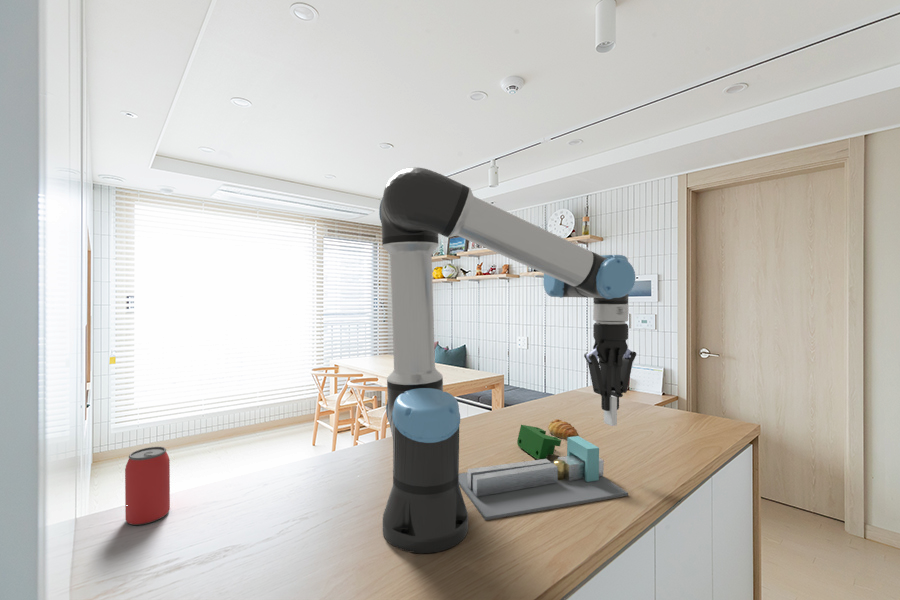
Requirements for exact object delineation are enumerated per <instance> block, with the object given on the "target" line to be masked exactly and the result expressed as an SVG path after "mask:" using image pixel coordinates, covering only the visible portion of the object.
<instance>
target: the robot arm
mask: <svg viewBox="0 0 900 600" xmlns="http://www.w3.org/2000/svg"><path fill="white" fill-rule="evenodd" d="M385 185H386V186H385V187H384V189H383V196H382V198H381V201H380V203H379V214H378V215H379V220H380V223H381V240H382V242H381V244H382V248H383V249H384V250H385V251H386V252H387V253H388V254H389V255H390V256H389V260H390V285H391V286H390V287H391V290H390V291H391V293H390V294H391V318H392V320H391V321H392V345H393V347H392V348H393V349H392V351H393V370H392V372H391V373H390V374H389V375H388V376H387V377H386V389H387V391H386V392H387V393H386V394H387V399H386V406H385V412H386V419H387V421H388V423H389V426H390V427H389V428H390V432H391V437H392V487H391V490H390V492H389V495H388V499H387V502H386V505H385V508H384V511H383V514H382V534H383V537H384V538H385V540H386V542H388V543H389V544H390V545H391V546H393V547H396V548H398V549H399V550H402V551H405V552H409V553H416V554H432V553H438V552H442V551H446V550H448V549H451V548H453V547H455V546H456V545H459V543H460V542H462V541H463V540H464V539H465V537H467V535H468V531H469V514H468V512H469V511H468V509H467V506H466V503H465V501H464V496H463V494H462V493H463V492H462V490H461V486H460V485H459V472H460V469H459V468H460V466H459V465H460V424H461V414H460V406H459V402H458V400H457V398H456V397H455V396H454V395H453V394H451V393H449V392H447V391H444V383H443V382H444V380H443V376H444V375H443V374H442V373H441V372H440V371H439V370H438V369H436V359H435V358H436V354H435V324H434V322H435V320H434V319H435V318H434V293H433V292H434V289H433V288H434V287H433V286H434V285H433V260H432V259H433V257H432V255H433V253H434V252H435V250H436V249H437V248H438V247H439V235H441V236H443V237H446V238H448V239H449V238H452V237H455V236H457V237H460V238H462V239H465V240H466V241H469V242H472V243H474V244H476V245H478V246H481V247H483V248H485V249H487V250H489V251H492V252H494V253H496V254H499V255H501V256H503V257H505V258H508V259H510V260H513V261H514V262H517V263H519V264H521V265H524V266H526V267H527V268H528V267H529V268H530V269H533V270H535V271H538V272H540V273H542V274H543V276H542V277H543V279H542V281H543V282H542V283H543V289H544V291H545V293H546V294H547V296H549V297H551V298H559V299H563V298H589V299H591V298H593V310H592V312H593V315H592V320H594V321H595V322H594V324H593V331H592V333H593V340H594V343H593V346H592V350H591V351H590V352H585V353H584V355H583V358H585V361H586V362H587V365H588V370H589V371H588V372H589V376H590V380H591V385H592V389H593V390H592V391H593V393H595V394H598V395H600V396H601V407H600V408H601V410H603V423H604V424H606V425H608V426H611V427H613V426H617V425H618V410H619V409H620V398H622V397H623V396H624V395H623V394H627V392H628V387H629V382H630V378H631V373H632V368H633V363H634V361H635V359H636V357H637V352H635V351H632V350H631V349H629V348H628V346H629V345H628V343H627V340H628V339H629V324H628V323H626V322H628V321H629V293H631V291H632V290H633V288H634V286H635V283H636V272H635V269H634V267H633V264H631V262H629V260H628V258H627V256H625V255H623V254H603V255H600V254H598V253H595V252H594V251H591V250H589V249H586V248H584V247H583V246H580V245H578V244H576V243H574V242H572V241H570V240H568V239H565V238H564V237H561V236H559V235H557V234H555V233H553V232H551V231H548V230H546V229H544V228H542V227H540V226H538V225H536V224H534V223H531V222H529V221H527V220H524V218H522V217H521V218H520V217H518V216H516V215H515V214H512V213H510V212H508V211H506V210H505V209H503V208H502V209H501V208H499V207H498V206H496V205H493V204H491V203H489V202H487V201H485V200H482V199H481V198H479V197H476V196H474V193H473V192H472V189H471V187H468V186H466V185H465V184H463V183H461V182H459V181H457V180H455V179H452V178H450V177H448V176H445V175H444V174H441V173H440V172H437V171H434V170H431V169H427V168H425V167H419V166H418V167H416V166H414V167H407V168H404V169H401V170H399V171H397V172H396V173H395V174H393V175H392V177H390V178H389V180H388V181H387V183H386V184H385Z"/></svg>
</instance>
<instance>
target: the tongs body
mask: <svg viewBox="0 0 900 600" xmlns="http://www.w3.org/2000/svg"><path fill="white" fill-rule="evenodd" d="M553 461H554V465H556V466H557V467H558V476H557V480H564V479H565V478H566V479H567V480H568V481H571V480H578V479H585V461H584V460H582V459H581V458H579V457H577V456H576V455H571V456H567V455H565V456H558V457H557V458H556V459H554V460H553ZM604 462H605V461H604V459H603V458H601V457H599V476H603V477H604V466H605V465H604ZM550 463H551V462H550V460H549V459H548V458H546V459H536V460H535V459H533V460H526V461H518V462H511V463H505V464H503V463H502V464H496V465H489V466H480V467H474V468H467V472H468V474H467V485H468V487H469V488H470V489H471V490H472V489H473V475H479V474H485V473H492V472H498V471H505V470H511V469H517V468H524V467H530V466H537V465H543V464H550Z"/></svg>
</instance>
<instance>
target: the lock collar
mask: <svg viewBox="0 0 900 600" xmlns="http://www.w3.org/2000/svg"><path fill="white" fill-rule="evenodd" d="M566 442H567V443H566V444H567V446H566V450H567V451H566V456H571V455H576V456H577V457H579V458H581V459H582V460H584V461H585V481H586V482H590V481H597V480H599V458H600V447H598V446H597V445H595V444H594V443H592V442H590V441H588V440H587V439H585V438H582V437H581V436H579V435H578V436H574V437H567V439H566Z"/></svg>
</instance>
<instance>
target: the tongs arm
mask: <svg viewBox="0 0 900 600" xmlns="http://www.w3.org/2000/svg"><path fill="white" fill-rule="evenodd" d="M557 476H558V467H557V466H556V465H554V464H553V463H550V464H543V465H537V466H530V467H524V468H517V469H511V470H505V471H498V472H492V473H485V474H479V475H473V493H474V494H475V495H476V497H479V496H485V495H490V494H496V493H502V492H508V491H513V490H519V489H525V488H530V487H536V486H542V485H548V484H553V483H557Z"/></svg>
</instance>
